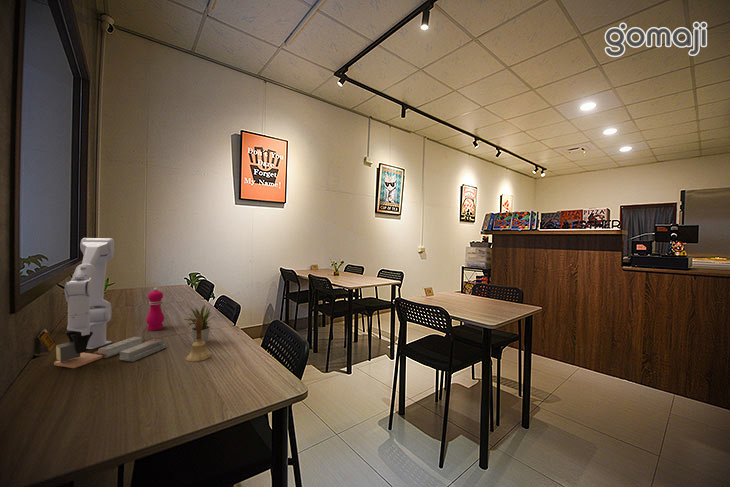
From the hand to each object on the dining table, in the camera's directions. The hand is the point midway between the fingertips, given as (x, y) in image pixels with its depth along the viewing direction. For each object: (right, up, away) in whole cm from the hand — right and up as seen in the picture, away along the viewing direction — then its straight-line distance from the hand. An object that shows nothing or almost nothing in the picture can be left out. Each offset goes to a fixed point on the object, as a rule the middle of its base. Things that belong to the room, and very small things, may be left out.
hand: (78, 351), depth 107 cm
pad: (0, -4, 0) cm, 4 cm away
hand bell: (+39, -5, +7) cm, 40 cm away
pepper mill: (+1, -3, +38) cm, 38 cm away
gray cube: (-1, -2, -2) cm, 3 cm away
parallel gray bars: (+11, -4, +10) cm, 15 cm away
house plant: (+30, -4, +23) cm, 39 cm away
